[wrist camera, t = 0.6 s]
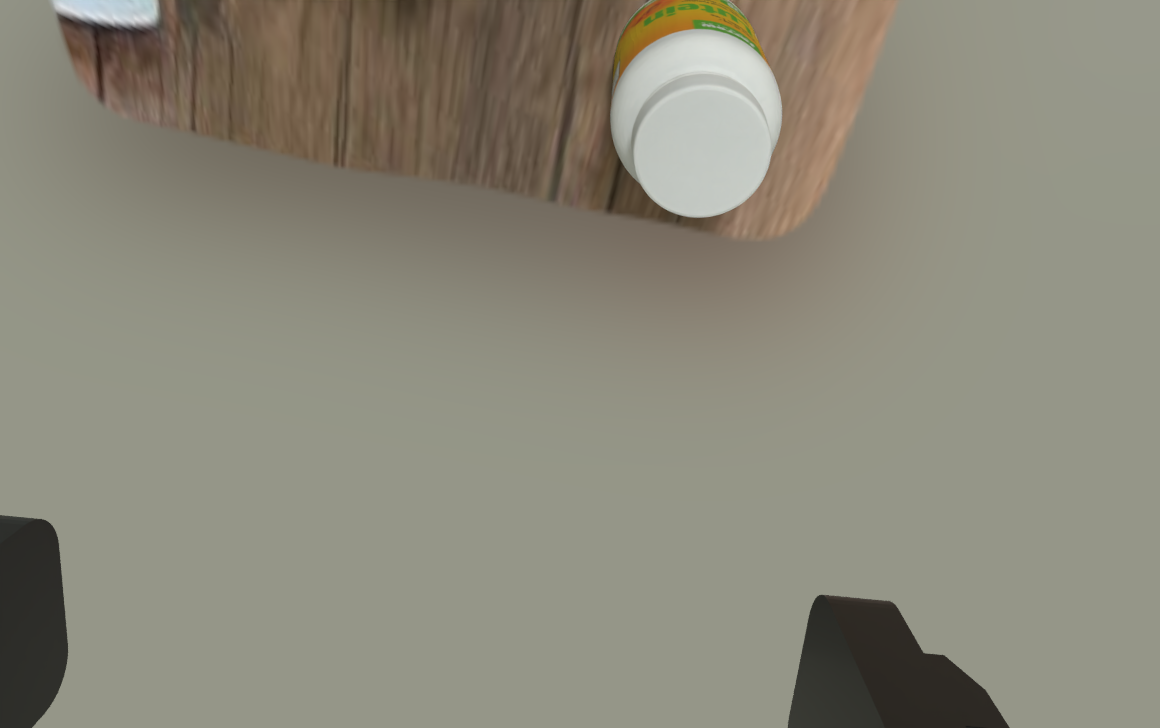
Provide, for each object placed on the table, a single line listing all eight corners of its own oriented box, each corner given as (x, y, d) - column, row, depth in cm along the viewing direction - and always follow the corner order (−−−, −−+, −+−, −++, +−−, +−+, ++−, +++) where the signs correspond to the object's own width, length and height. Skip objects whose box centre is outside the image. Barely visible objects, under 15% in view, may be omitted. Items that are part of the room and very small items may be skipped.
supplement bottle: (763, -17, 32) (808, 56, 24) (752, 130, 35) (788, 239, 27) (612, -13, 32) (606, 60, 24) (614, 133, 35) (609, 241, 27)
